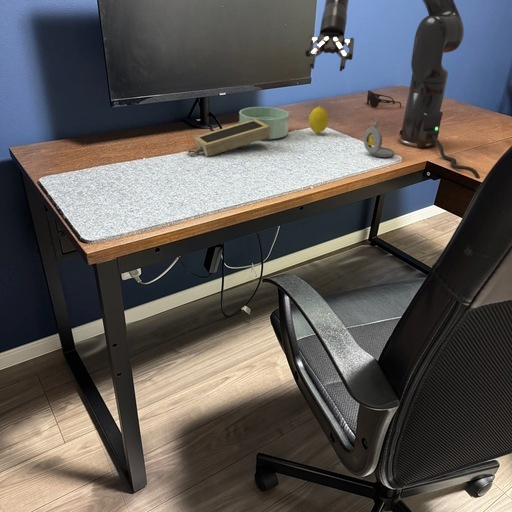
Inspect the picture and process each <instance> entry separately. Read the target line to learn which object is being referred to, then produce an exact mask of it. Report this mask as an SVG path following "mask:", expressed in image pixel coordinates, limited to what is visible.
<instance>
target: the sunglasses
mask: <svg viewBox="0 0 512 512" xmlns="http://www.w3.org/2000/svg"><path fill="white" fill-rule="evenodd" d="M380 97H385V98H389V99H383V98H380ZM379 103H382V104H391V103H392V104H394V105H395V104H396V103H397V104H399V108H402V103H401V102H400V101H395V100H394V99H393V97H391V96H388V95H385V94H384V95H383V94H379V93H375V92H373V91H371V90H367V96H366V104H367V105H369V104H370V107H371V108H374V109H376V108H378V106H379Z"/></svg>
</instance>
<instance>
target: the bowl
mask: <svg viewBox="0 0 512 512" xmlns="http://www.w3.org/2000/svg"><path fill="white" fill-rule="evenodd" d="M253 119H257V120H259V121H261V122H263V123H265V124H267V125H269V126H270V133H269V136H270V138H269V139H266V140H267V141H269V140H276V139H281V138H284V137H287V135H288V133H289V125H290V124H289V123H290V113H289V112H288V111H287V110H284V109H281V108H278V107H277V108H276V107H271V106H251V107H245V108H242V109H240V110H239V112H238V124H240V123H244V122H247V121H250V120H253ZM266 140H265V141H266Z"/></svg>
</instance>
